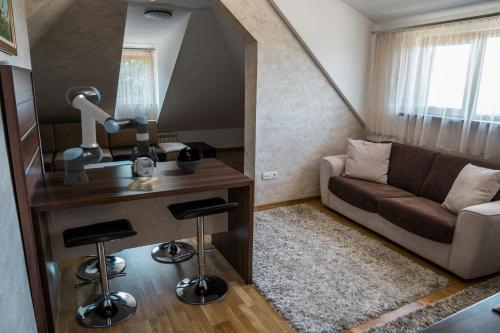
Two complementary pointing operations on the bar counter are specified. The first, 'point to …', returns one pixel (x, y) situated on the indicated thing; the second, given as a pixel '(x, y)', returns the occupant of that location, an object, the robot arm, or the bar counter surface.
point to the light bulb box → (144, 166)
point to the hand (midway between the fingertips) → (145, 171)
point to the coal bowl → (188, 160)
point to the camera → (135, 174)
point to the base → (145, 183)
